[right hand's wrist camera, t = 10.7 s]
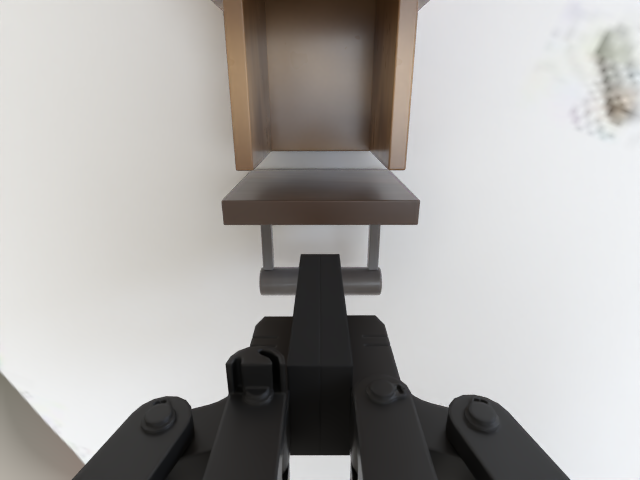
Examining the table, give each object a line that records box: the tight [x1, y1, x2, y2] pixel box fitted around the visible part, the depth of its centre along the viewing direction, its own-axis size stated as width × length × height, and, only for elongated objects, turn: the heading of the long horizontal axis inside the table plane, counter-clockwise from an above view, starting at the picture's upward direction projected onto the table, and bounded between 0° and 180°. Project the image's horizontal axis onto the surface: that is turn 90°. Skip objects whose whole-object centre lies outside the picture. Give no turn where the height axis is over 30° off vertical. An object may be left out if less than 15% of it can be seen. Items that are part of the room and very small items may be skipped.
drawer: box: [222, 0, 420, 295], centre depth 20 cm, size 23×9×8 cm, turn 0°
